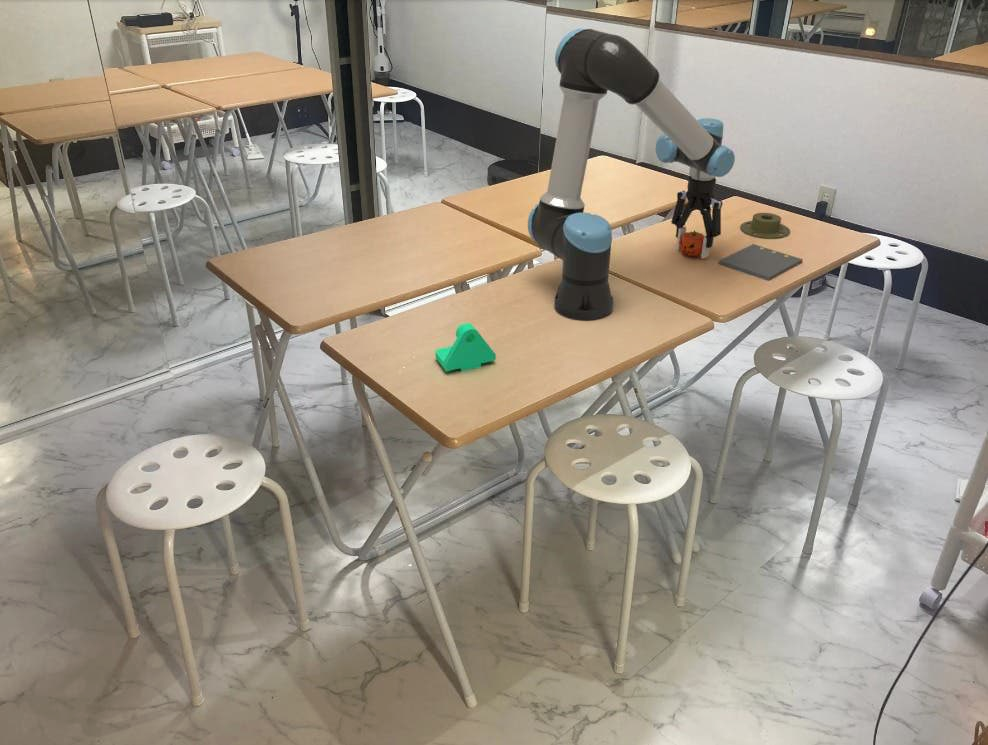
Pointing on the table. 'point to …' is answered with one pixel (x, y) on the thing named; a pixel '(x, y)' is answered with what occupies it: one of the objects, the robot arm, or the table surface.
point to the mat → (760, 261)
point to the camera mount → (465, 350)
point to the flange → (765, 226)
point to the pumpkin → (691, 243)
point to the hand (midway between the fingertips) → (692, 252)
